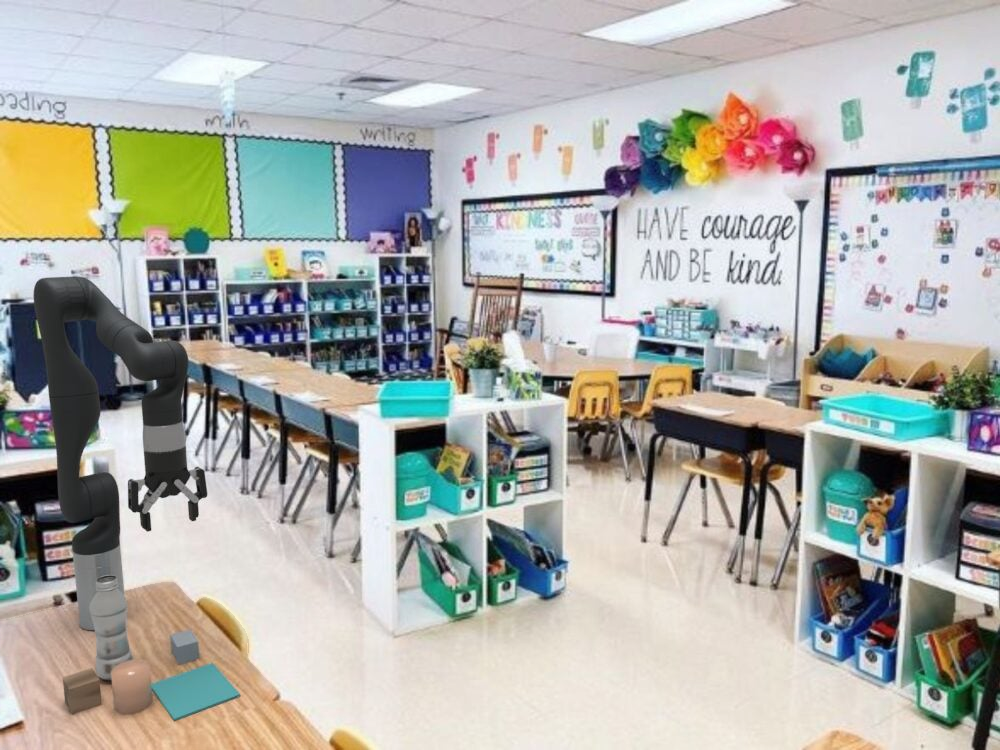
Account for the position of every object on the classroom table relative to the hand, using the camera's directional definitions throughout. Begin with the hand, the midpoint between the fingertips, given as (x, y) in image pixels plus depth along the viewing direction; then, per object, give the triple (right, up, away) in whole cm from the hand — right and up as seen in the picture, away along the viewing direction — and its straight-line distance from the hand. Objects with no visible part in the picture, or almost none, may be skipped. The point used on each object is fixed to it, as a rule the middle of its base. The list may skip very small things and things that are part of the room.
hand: (170, 525), depth 157 cm
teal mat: (+7, -30, -7) cm, 31 cm away
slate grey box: (+1, -28, +6) cm, 28 cm away
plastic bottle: (-10, -29, -2) cm, 31 cm away
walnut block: (-12, -31, -11) cm, 34 cm away
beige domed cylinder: (-2, -31, -11) cm, 33 cm away
